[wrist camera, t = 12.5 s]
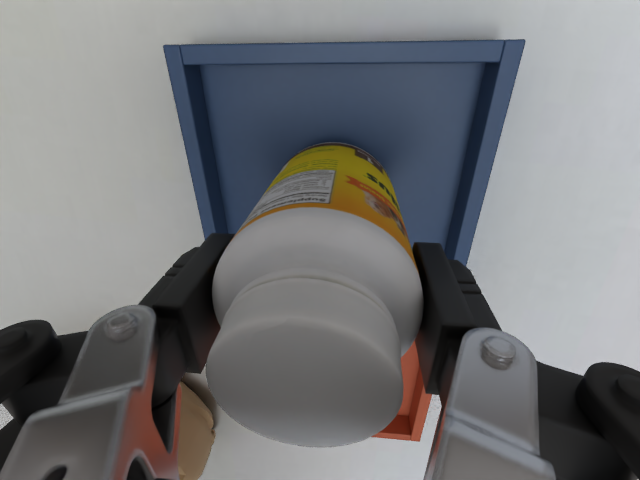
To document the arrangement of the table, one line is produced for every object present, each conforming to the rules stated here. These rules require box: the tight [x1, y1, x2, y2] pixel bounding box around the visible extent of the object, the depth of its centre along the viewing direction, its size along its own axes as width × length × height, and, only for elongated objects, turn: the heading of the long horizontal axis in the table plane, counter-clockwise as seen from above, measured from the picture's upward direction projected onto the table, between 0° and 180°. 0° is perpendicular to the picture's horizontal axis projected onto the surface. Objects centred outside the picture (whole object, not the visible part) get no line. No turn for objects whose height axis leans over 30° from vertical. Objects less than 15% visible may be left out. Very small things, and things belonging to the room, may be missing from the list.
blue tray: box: [163, 39, 525, 266], centre depth 16 cm, size 13×12×2 cm
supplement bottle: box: [206, 142, 424, 447], centre depth 11 cm, size 6×6×10 cm
